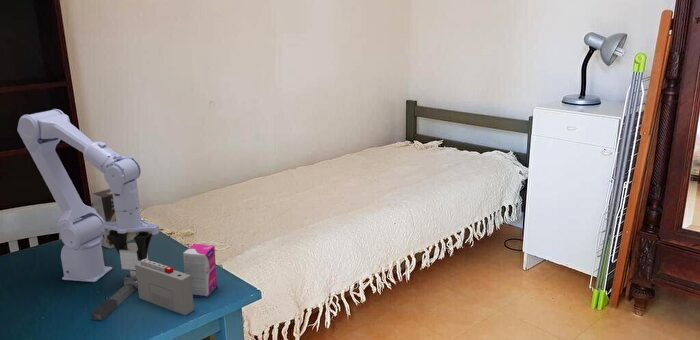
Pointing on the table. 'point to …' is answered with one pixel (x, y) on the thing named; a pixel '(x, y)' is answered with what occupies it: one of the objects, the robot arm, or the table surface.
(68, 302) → the table surface
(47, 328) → the table surface
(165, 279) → the cassette player
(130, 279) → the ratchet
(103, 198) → the cookie box
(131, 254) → the brushed metal cube
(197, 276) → the supplement box
